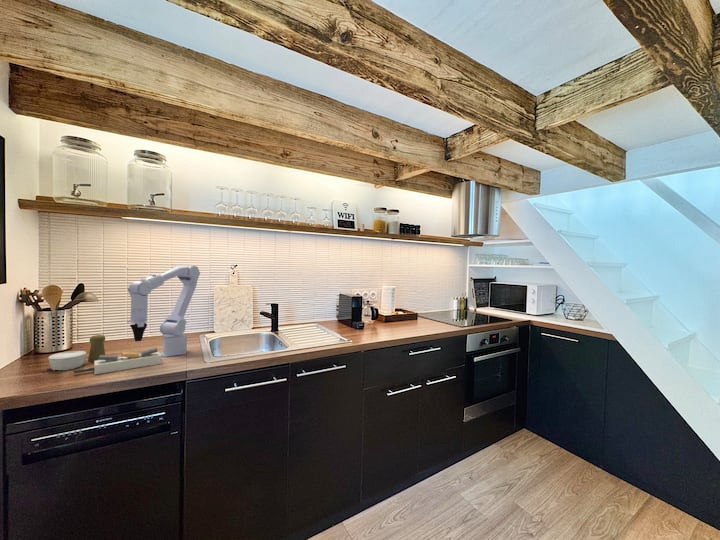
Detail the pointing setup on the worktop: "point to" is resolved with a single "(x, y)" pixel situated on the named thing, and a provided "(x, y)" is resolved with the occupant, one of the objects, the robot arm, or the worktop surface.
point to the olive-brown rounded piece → (96, 347)
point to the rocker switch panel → (123, 363)
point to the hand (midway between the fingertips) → (138, 340)
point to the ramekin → (67, 360)
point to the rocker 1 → (108, 357)
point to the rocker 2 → (149, 352)
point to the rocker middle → (129, 354)
